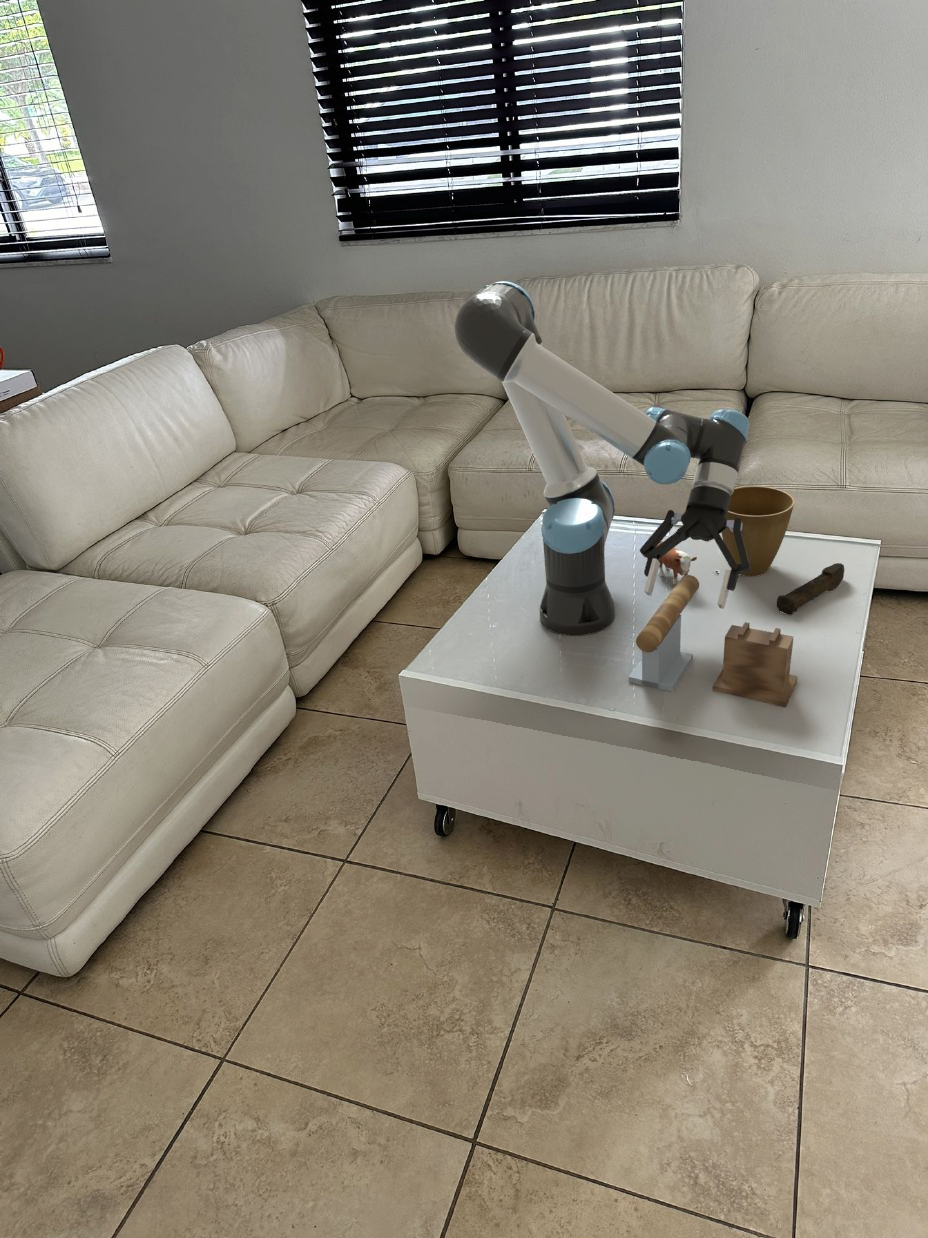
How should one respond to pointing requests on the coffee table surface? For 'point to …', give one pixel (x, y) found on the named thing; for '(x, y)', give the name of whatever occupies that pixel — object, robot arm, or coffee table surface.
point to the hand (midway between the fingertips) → (683, 600)
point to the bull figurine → (675, 563)
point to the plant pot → (759, 524)
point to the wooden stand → (757, 665)
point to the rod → (667, 614)
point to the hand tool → (811, 589)
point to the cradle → (663, 662)
